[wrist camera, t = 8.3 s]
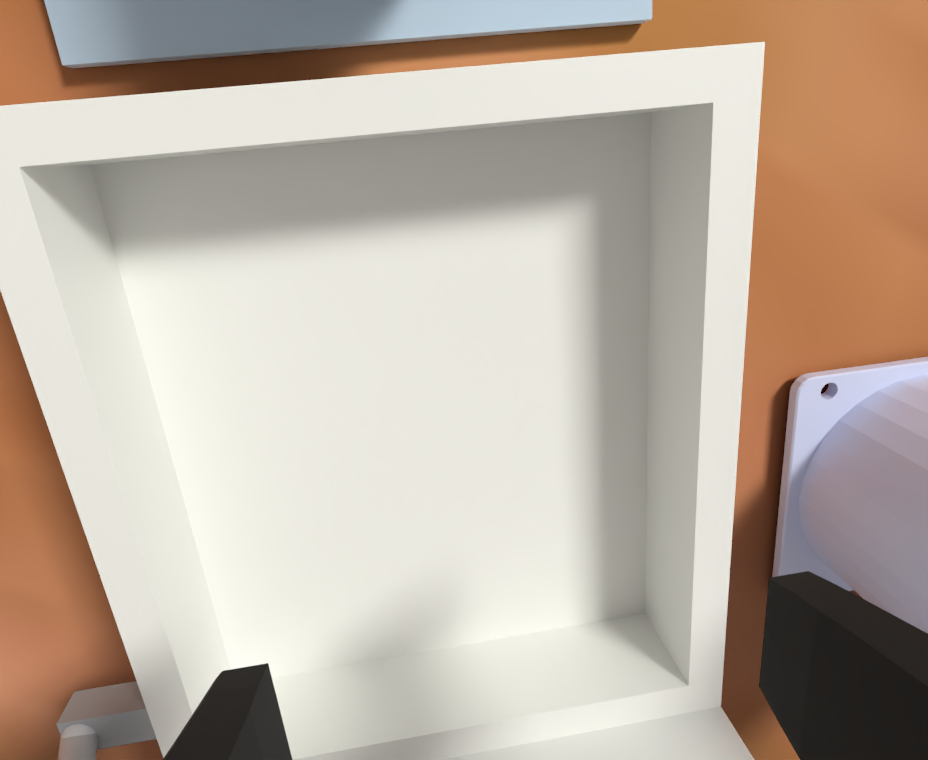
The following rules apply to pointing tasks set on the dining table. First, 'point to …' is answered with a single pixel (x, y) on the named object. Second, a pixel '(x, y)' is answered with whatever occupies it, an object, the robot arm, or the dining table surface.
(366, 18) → the mat
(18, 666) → the dining table surface
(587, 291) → the case
